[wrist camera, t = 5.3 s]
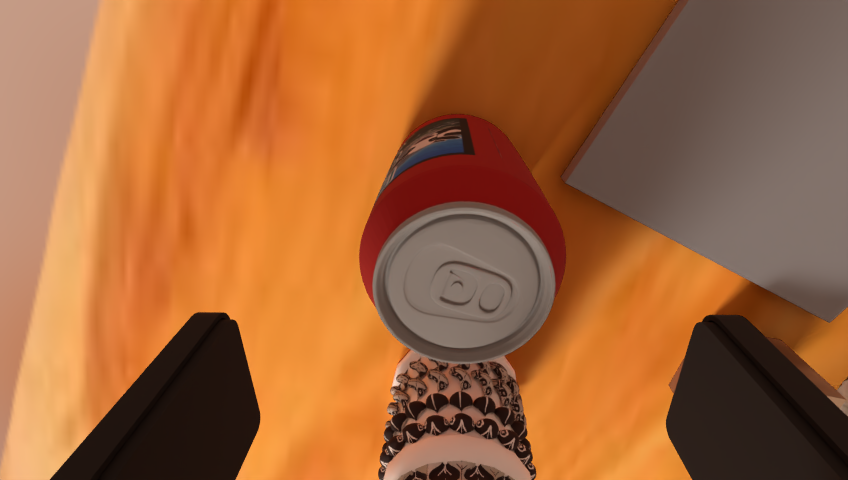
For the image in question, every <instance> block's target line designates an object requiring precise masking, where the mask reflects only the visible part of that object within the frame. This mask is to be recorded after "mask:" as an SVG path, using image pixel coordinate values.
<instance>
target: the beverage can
mask: <svg viewBox="0 0 848 480" xmlns="http://www.w3.org/2000/svg"><path fill="white" fill-rule="evenodd" d="M359 261H360V270H361V276H362V279H363V283H364V285H365V288H366V291H367V293H368V295H369V297H370V299H371V301H372V302H373V304H374V306H375V307H376V309H377V311H378V314H379V316H380V318H381V320H382V321H383V323H384V325H385V326H386V327H387V329H388V330H389V331H390V333H391V334H392V335H393V336H394V337H395V338H396V339H397V340H398V341H400V342H401V343H402V344H403V345H405V346H406V347H407V348H409V349H411V350H412V351H414V352H416V353H418V354H420V355H422V356H425V357H427V358H430V359H433V360H437V361H440V362H446V363H454V364H473V363H481V362H486V361H490V360H494V359H497V358H500V357H502V356H504V355H507V354H509V353H511V352H513V351H514V350H516V349H518V348H519V347H521V346H522V345H524V344H525V343H526V342H527V341H529V340H530V339H531V338H532V337H533V336H534V335H535V334H536V333H537V331H538V330H539V329H540V328H541V326H542V325H543V324H544V322H545V320H546V319H547V317H548V315H549V312H550V310H551V307H552V305H553V301H554V298H555V297H556V294H557V292H558V290H559V288H560V285H561V282H562V279H563V275H564V270H565V264H566V247H565V240H564V236H563V232H562V229H561V226H560V223H559V221H558V219H557V217H556V215H555V213H554V212H553V210H552V208H551V207H550V205H549V203H548V201H547V200H546V198H545V196H544V194H543V193H542V191H541V189H540V187H539V186H538V184H537V183H536V181H535V179H534V178H533V176H532V174H531V173H530V171H529V169H528V168H527V166H526V164H525V163H524V161H523V160H522V158H521V157H520V155H519V154H518V152H517V151H516V149H515V148H514V146H513V145H512V143H511V142H510V140H509V139H508V138H507V137H506V135H505V134H504V133H503V132H502V131H501V130H499V129H498V128H497V127H496V126H494V125H493V124H491V123H489V122H488V121H486V120H483V119H481V118H478V117H475V116H470V115H463V114H452V115H445V116H440V117H437V118H434V119H432V120H429V121H427V122H425V123H424V124H422V125H420V126H419V127H418V128H416V129H415V130H414V131H413V132H412V133H411V134H410V135H409V136H408V137H407V138H406V139H405V141H404V142H403V144H402V145H401V147H400V149H399V150H398V152H397V154H396V156H395V159H394V161H393V163H392V165H391V167H390V169H389V171H388V174H387V176H386V178H385V180H384V183H383V185H382V187H381V190H380V192H379V194H378V196H377V199H376V201H375V204H374V206H373V209H372V211H371V214H370V216H369V219H368V221H367V224H366V226H365V229H364V232H363V235H362V239H361V244H360V254H359Z"/></svg>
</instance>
